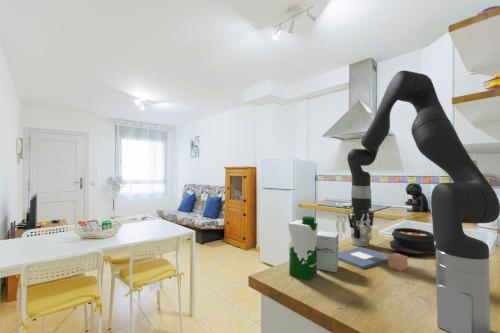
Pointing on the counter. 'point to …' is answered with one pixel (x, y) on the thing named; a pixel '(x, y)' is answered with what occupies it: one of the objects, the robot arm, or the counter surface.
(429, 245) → the casserole
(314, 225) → the milk carton
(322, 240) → the supplement box
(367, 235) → the cream block
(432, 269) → the counter surface
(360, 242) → the travel mug
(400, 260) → the terracotta cube
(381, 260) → the blue board
